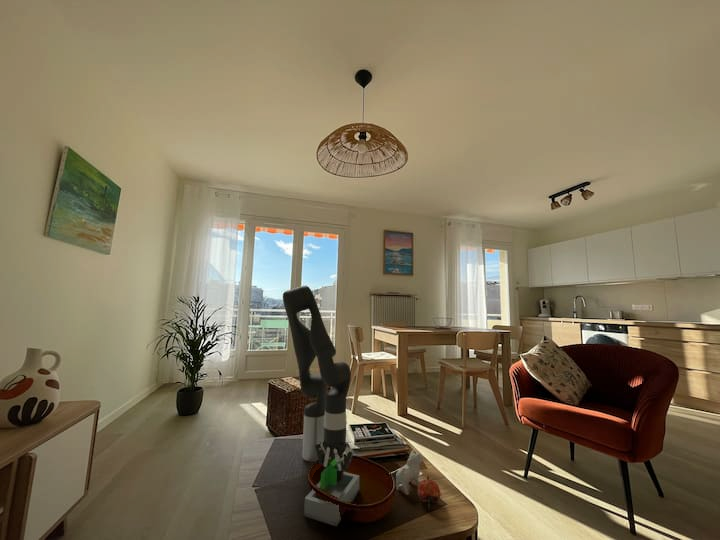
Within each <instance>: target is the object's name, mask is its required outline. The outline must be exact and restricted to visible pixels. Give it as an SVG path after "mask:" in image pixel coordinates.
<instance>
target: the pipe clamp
mask: <svg viewBox="0 0 720 540" xmlns="http://www.w3.org/2000/svg"><path fill="white" fill-rule="evenodd" d="M337 470H338V466H337V463H336V459H335V458H333V460H332V461H330V464H329V465H328V466H327V467H326V468H325V469H324V468H323V470H322V472H321V473H320V481H321V489H324V488H325V487H326V486H327V485H328V484H331V485H335V486H336V484H337Z"/></svg>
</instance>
